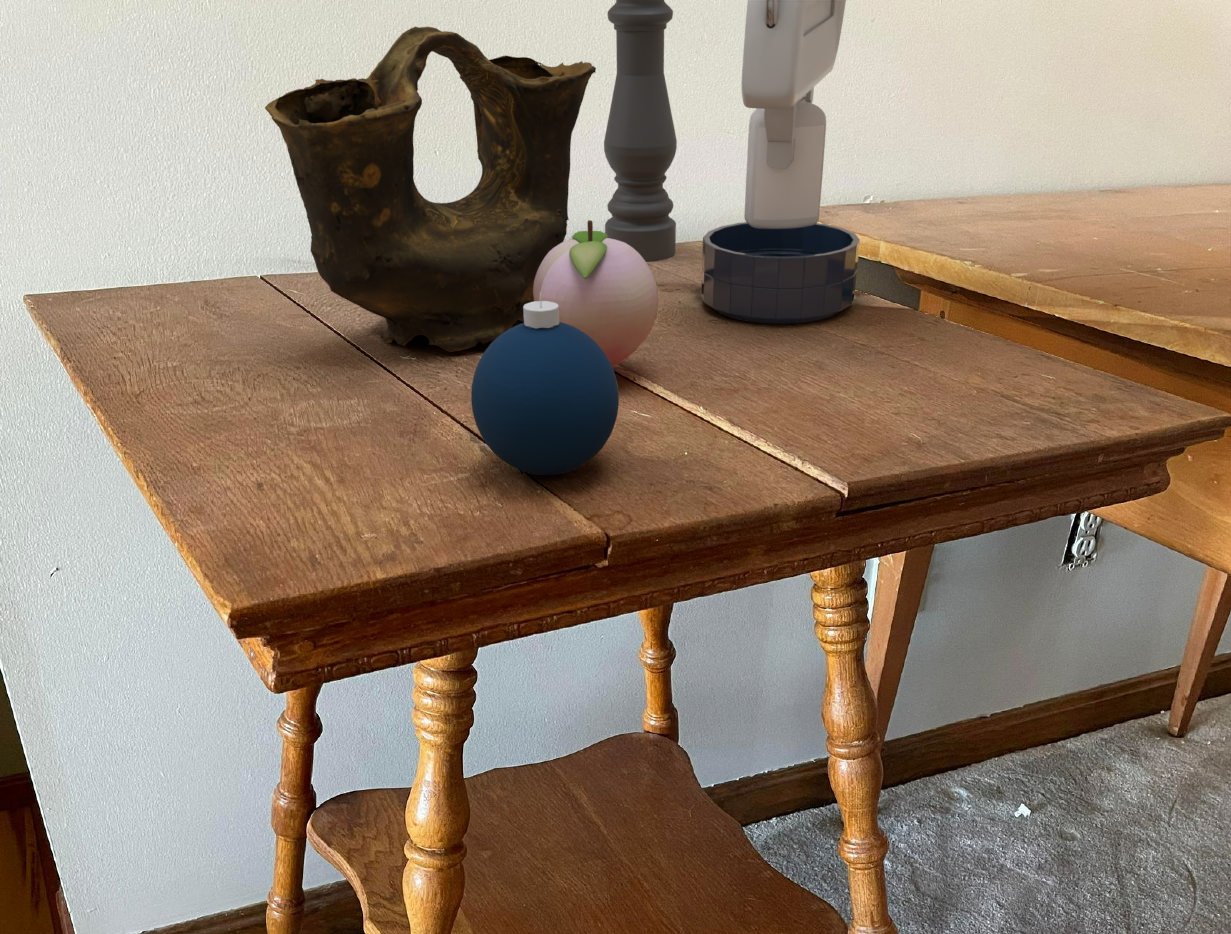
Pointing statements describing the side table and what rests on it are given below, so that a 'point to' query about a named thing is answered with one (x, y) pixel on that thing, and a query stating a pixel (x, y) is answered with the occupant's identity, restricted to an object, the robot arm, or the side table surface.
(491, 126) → the pottery vessel
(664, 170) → the candle holder
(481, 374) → the christmas ornament
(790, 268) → the bowl
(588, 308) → the decorative fruit
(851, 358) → the side table surface
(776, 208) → the eye dropper bottle
